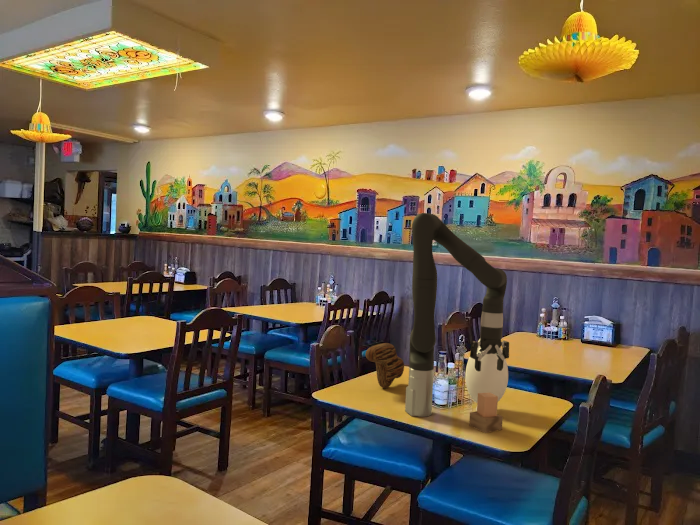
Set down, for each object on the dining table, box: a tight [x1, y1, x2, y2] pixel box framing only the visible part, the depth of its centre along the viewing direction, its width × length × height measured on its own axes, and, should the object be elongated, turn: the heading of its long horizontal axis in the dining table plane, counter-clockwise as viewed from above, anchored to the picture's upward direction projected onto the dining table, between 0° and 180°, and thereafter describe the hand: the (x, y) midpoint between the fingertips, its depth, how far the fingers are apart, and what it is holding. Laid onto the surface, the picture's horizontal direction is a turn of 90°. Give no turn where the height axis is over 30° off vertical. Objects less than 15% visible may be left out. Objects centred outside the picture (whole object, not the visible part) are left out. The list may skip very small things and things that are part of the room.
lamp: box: [464, 339, 509, 412], centre depth 213 cm, size 16×16×35 cm
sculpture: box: [364, 342, 405, 389], centre depth 238 cm, size 26×8×20 cm, turn 145°
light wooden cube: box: [476, 393, 499, 417], centre depth 194 cm, size 5×5×7 cm
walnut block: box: [468, 410, 504, 434], centre depth 194 cm, size 8×8×5 cm
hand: (488, 370), depth 193 cm, fingers open, 8 cm apart
